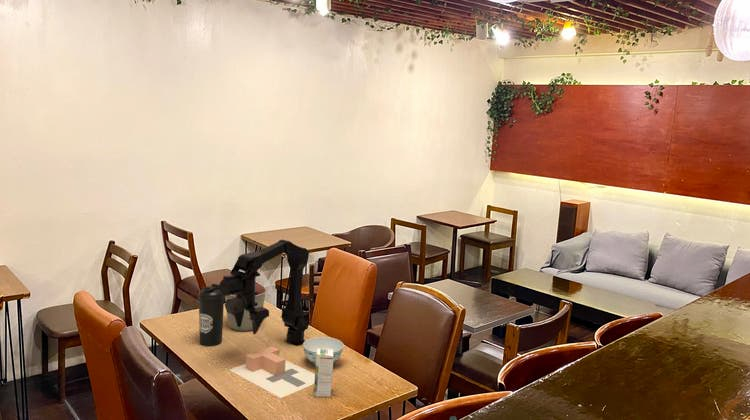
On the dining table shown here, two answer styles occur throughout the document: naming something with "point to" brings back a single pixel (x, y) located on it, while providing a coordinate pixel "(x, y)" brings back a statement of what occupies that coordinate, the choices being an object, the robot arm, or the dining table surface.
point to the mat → (278, 379)
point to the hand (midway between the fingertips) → (246, 330)
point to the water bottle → (210, 315)
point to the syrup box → (323, 373)
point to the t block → (266, 361)
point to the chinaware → (322, 347)
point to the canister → (246, 321)
